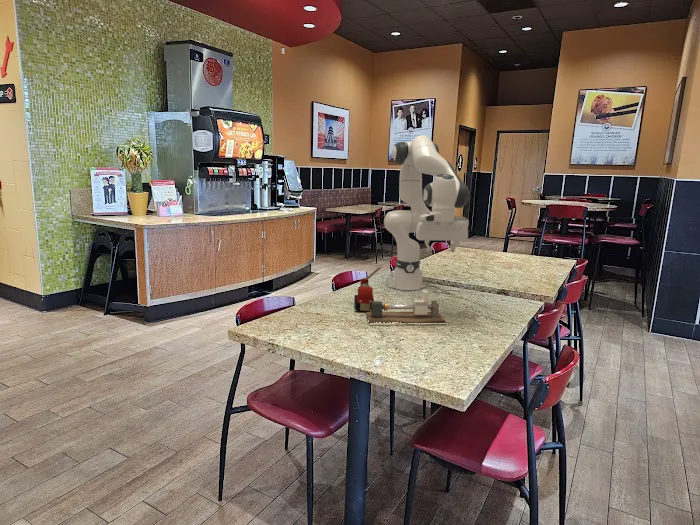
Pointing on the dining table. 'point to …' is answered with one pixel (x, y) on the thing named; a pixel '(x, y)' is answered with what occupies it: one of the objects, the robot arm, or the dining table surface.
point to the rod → (378, 306)
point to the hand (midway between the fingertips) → (441, 251)
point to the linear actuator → (410, 316)
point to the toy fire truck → (364, 294)
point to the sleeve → (421, 304)
